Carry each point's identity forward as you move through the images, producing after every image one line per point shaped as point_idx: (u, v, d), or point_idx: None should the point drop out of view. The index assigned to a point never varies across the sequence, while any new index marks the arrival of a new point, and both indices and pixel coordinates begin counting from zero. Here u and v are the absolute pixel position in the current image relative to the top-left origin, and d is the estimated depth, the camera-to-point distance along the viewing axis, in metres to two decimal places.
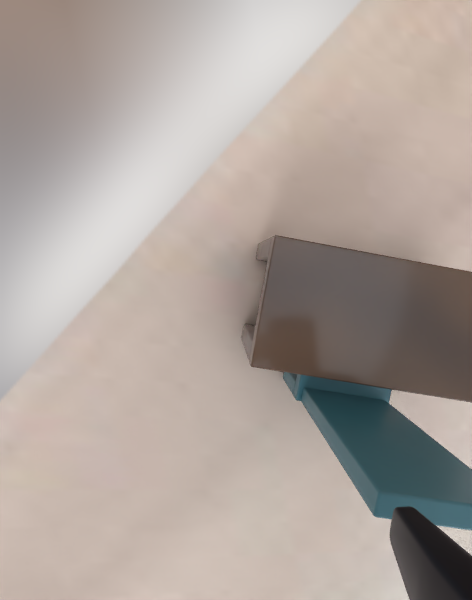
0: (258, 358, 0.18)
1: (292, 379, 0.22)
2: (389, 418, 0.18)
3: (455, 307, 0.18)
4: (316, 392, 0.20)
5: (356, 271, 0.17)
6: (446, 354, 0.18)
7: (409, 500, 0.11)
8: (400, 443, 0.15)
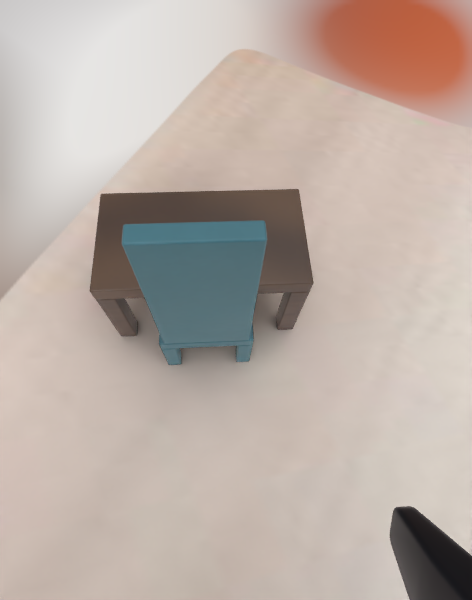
0: (95, 282, 0.19)
1: None
2: None
3: (263, 214, 0.21)
4: None
5: (172, 205, 0.21)
6: (268, 249, 0.20)
7: (152, 226, 0.12)
8: None
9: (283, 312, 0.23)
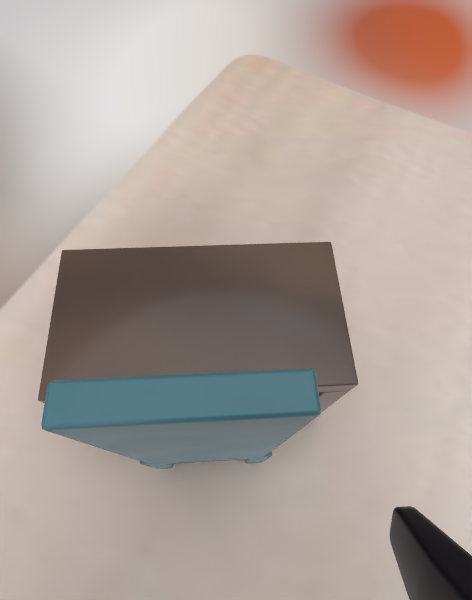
0: None
1: None
2: None
3: (283, 279, 0.15)
4: None
5: (159, 266, 0.15)
6: (293, 332, 0.14)
7: (103, 386, 0.06)
8: None
9: None
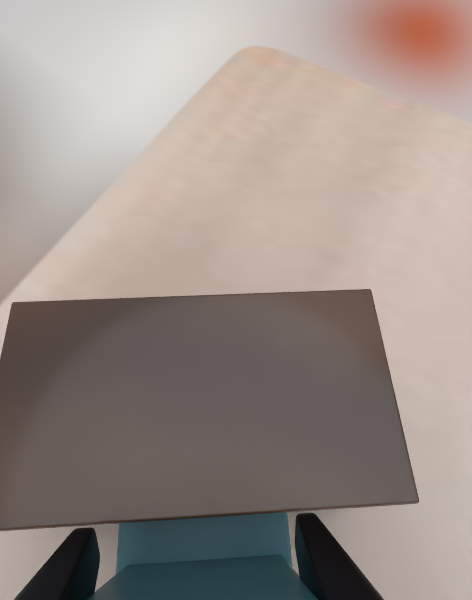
0: None
1: None
2: (248, 579, 0.09)
3: (310, 343, 0.11)
4: (139, 568, 0.10)
5: (142, 325, 0.11)
6: (325, 422, 0.10)
7: None
8: None
9: None
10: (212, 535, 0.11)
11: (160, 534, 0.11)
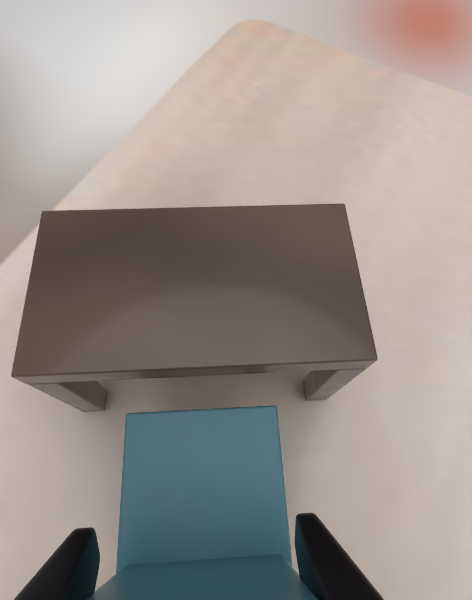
0: (22, 361, 0.12)
1: None
2: (248, 579, 0.09)
3: (292, 244, 0.14)
4: (139, 568, 0.10)
5: (151, 228, 0.14)
6: (302, 301, 0.13)
7: None
8: None
9: (319, 386, 0.15)
10: (212, 535, 0.11)
11: (160, 534, 0.11)
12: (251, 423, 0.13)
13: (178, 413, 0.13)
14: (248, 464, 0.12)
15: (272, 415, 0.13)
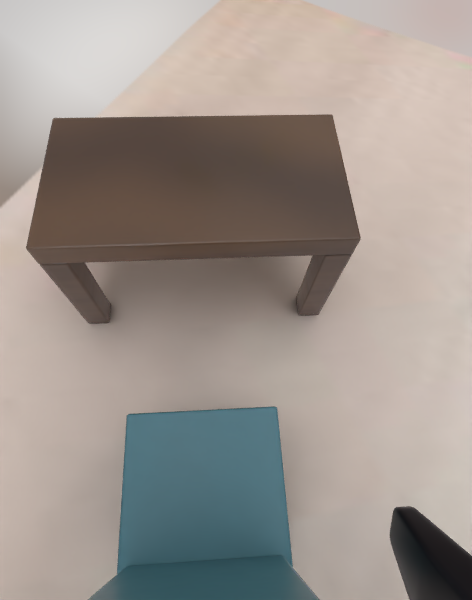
0: (36, 236, 0.13)
1: None
2: (249, 579, 0.09)
3: (283, 146, 0.15)
4: (140, 568, 0.10)
5: (153, 133, 0.15)
6: (292, 192, 0.14)
7: None
8: None
9: (309, 289, 0.16)
10: (213, 535, 0.11)
11: (161, 534, 0.11)
12: (252, 424, 0.13)
13: (179, 414, 0.13)
14: (248, 465, 0.12)
15: (273, 416, 0.13)
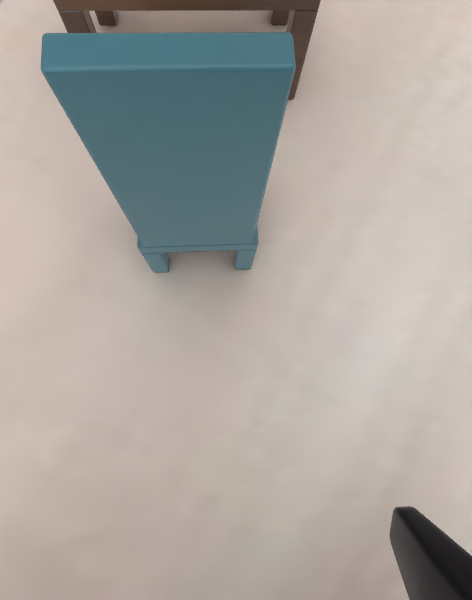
0: None
1: None
2: None
3: None
4: None
5: None
6: None
7: (95, 39, 0.07)
8: None
9: None
10: None
11: None
12: None
13: None
14: None
15: None
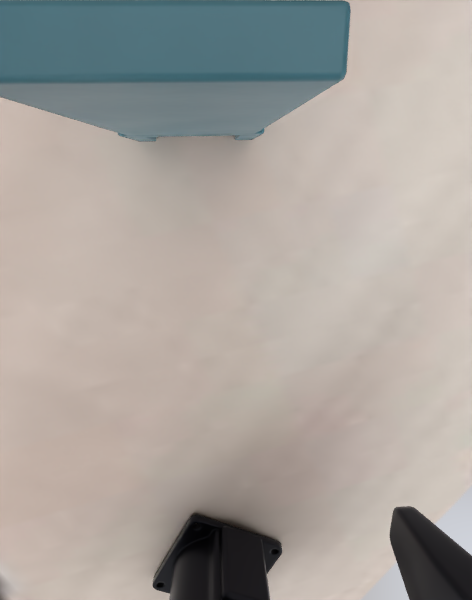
0: None
1: None
2: None
3: None
4: None
5: None
6: None
7: (23, 14, 0.04)
8: None
9: None
10: None
11: None
12: None
13: None
14: None
15: None
